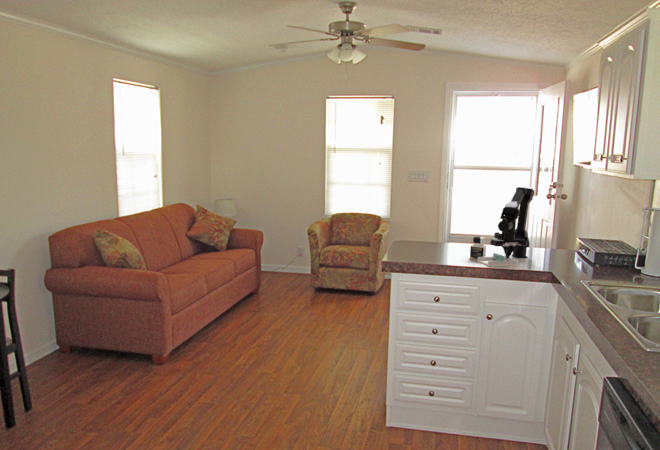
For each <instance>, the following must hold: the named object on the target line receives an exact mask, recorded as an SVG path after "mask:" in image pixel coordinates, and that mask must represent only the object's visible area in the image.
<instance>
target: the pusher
mask: <svg viewBox="0 0 660 450" xmlns="http://www.w3.org/2000/svg"><path fill="white" fill-rule="evenodd" d="M492 256H493V257H490V256H485V259H493V260H496V261H503V260H504V256H505V255H501V254H499V253H496V252H493V253H492Z"/></svg>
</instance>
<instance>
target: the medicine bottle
mask: <svg viewBox="0 0 660 450" xmlns="http://www.w3.org/2000/svg"><path fill="white" fill-rule="evenodd" d="M469 251H470V252H469V254H470V255H469V259H474V260H475V259H476V260H478V257H486V256H487V255H486V254H487V253H486V251H487V245H486V244H485V237H483V236H478V235H477V236H476V235H475V236H474V237H473V238H472V245H470V250H469Z"/></svg>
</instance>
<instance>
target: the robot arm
mask: <svg viewBox="0 0 660 450" xmlns="http://www.w3.org/2000/svg"><path fill="white" fill-rule="evenodd" d="M534 196H535V189H533V187H525V186H516V189H515V192H514V193H513V197H512V198H511V200H510V202H508V203H506V204H505V205H504V207H503V209H502V212H501V215H500V218H499V219H500V220H501V221H499V222H498V224H497V229H498V230H499V231H500V232H501V233H500V232H494V236H493V237H494V238H493V239H491V240H490V244H489V245H491V246H494V247H502V249H503V251H504V256H506V258H511V257H510V256H512V257H514V258H517V259H518V258H519V259H520V258H522V259H523V258H525V259H526V258H528V256H527V248H530V239H529V236H528V235H529V234H528V232H527V219H528V215H529V214H528V212H529V206H530V203H531V202H532V200H533V199H534Z"/></svg>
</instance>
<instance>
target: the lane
mask: <svg viewBox="0 0 660 450" xmlns="http://www.w3.org/2000/svg"><path fill="white" fill-rule="evenodd" d="M503 256H504V260H503V261H496V260H493V259H485V257H486V256H485V257H478V259H476V261H477V262H478V263H480V264H482V265H485V266H487V267H507V266H509V267H510V265H511V266H519V260H518V259H514V258H512V257H509V258H506V255H503ZM489 257H493V255H492V256H489Z"/></svg>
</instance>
